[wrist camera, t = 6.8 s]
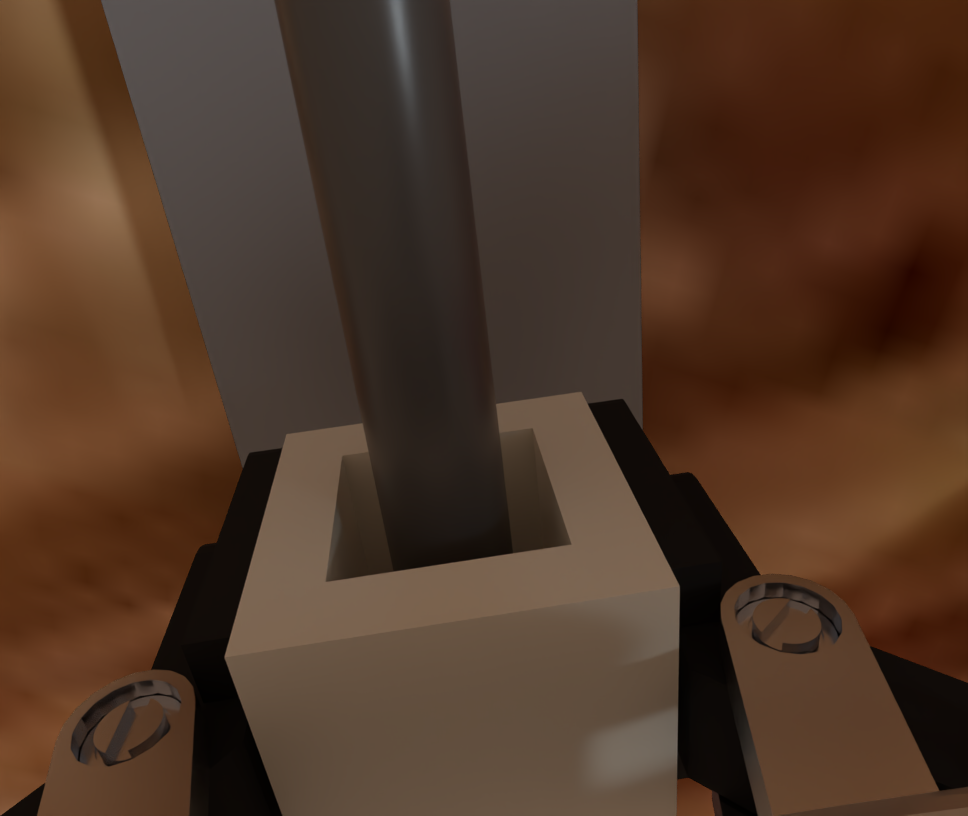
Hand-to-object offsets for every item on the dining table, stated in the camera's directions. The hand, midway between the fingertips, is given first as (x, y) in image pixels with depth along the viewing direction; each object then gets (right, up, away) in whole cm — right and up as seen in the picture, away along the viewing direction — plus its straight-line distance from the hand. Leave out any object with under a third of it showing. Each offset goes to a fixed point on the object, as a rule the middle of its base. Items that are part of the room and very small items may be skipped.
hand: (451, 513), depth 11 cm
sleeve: (0, 0, 0) cm, 1 cm away
